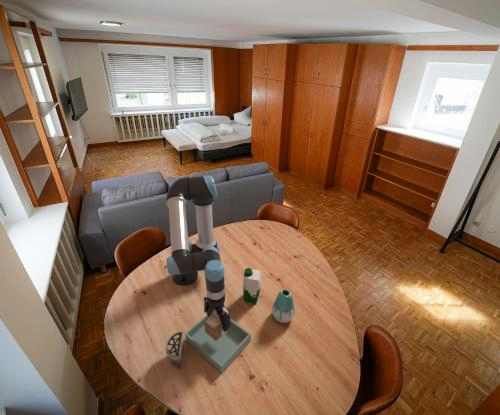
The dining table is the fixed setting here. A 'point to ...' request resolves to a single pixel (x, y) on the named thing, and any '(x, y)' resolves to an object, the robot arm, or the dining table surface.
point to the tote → (218, 343)
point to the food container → (175, 349)
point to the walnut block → (213, 326)
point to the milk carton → (251, 285)
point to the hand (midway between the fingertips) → (217, 329)
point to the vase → (283, 307)
